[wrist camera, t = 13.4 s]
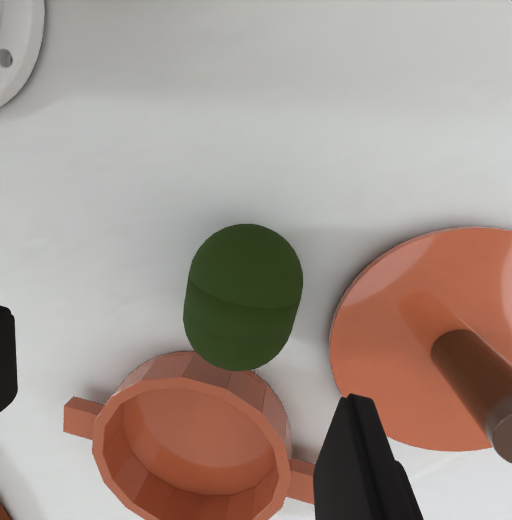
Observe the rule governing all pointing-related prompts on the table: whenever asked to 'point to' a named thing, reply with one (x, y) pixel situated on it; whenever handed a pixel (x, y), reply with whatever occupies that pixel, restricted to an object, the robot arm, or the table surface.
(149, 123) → the table surface
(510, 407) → the lid
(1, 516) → the kitchen knife
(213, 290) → the avocado
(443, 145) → the table surface
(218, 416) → the pot
